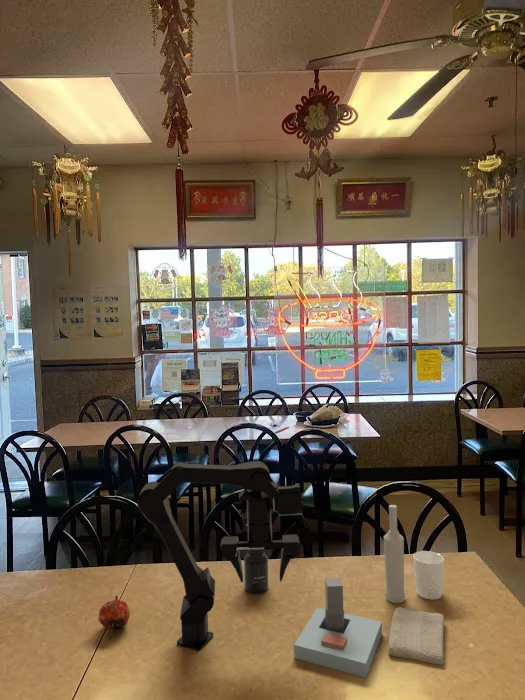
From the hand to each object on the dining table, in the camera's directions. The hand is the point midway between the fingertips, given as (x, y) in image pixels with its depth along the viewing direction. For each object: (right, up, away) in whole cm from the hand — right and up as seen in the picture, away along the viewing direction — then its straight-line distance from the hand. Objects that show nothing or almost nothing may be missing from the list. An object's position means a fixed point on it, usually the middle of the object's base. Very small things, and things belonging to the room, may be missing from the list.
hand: (261, 581), depth 116 cm
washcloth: (+37, -13, -2) cm, 39 cm away
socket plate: (+18, -13, -5) cm, 22 cm away
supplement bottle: (-1, -13, +22) cm, 26 cm away
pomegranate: (-36, -14, +5) cm, 39 cm away
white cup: (+46, -11, +16) cm, 50 cm away
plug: (+17, -13, -1) cm, 21 cm away
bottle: (+36, -12, +14) cm, 40 cm away
